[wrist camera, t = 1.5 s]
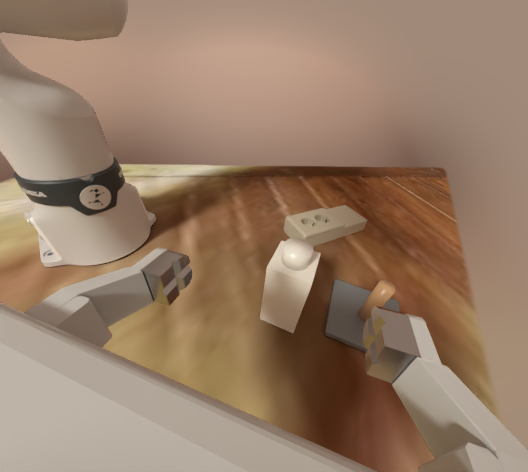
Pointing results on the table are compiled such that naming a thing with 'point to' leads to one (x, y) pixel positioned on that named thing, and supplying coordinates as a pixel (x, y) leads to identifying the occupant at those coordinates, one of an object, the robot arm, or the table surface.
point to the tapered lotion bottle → (288, 283)
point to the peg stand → (356, 310)
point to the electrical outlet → (324, 224)
